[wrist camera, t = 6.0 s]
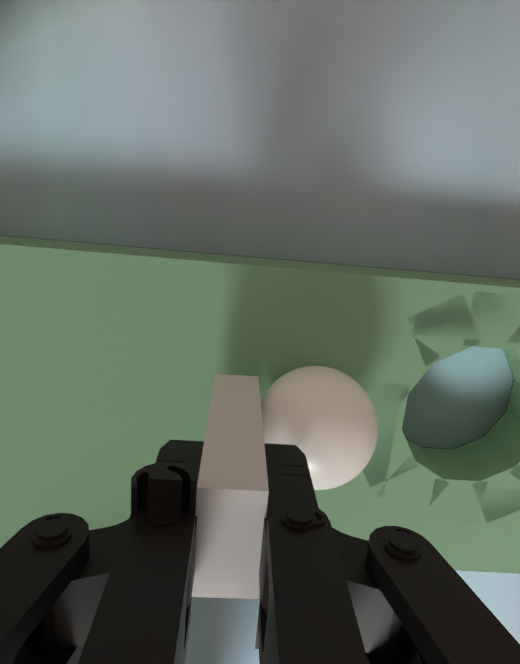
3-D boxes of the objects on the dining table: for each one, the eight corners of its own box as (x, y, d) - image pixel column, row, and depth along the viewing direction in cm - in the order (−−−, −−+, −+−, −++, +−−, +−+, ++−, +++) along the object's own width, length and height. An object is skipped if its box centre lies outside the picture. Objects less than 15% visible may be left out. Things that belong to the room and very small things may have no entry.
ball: (251, 514, 14) (253, 446, 18) (383, 520, 14) (357, 451, 18) (258, 391, 13) (258, 347, 17) (401, 398, 13) (370, 353, 17)
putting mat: (542, 536, 23) (578, 576, 20) (-66, 503, 21) (-106, 542, 19) (614, 288, 19) (666, 300, 17) (-95, 227, 18) (-148, 231, 15)
